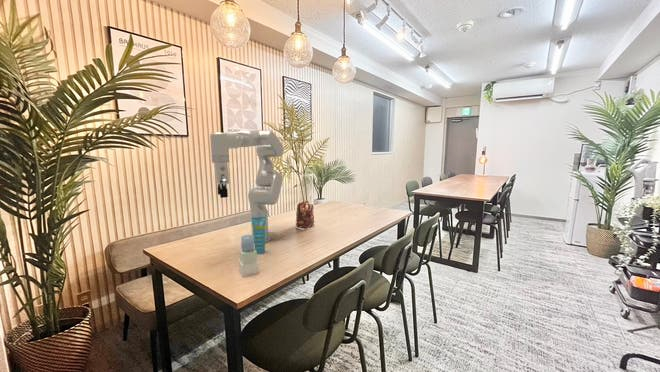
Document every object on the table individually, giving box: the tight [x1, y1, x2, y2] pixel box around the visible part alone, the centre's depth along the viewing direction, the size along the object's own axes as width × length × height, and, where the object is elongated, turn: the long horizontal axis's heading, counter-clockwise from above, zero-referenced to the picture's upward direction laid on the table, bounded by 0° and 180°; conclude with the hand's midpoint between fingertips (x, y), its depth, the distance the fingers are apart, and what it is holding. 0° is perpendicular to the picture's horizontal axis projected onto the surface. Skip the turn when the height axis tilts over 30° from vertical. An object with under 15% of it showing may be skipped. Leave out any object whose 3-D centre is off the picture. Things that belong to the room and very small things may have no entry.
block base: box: [238, 259, 260, 277], centre depth 120 cm, size 7×7×5 cm
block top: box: [238, 248, 258, 265], centre depth 120 cm, size 6×6×5 cm
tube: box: [250, 216, 266, 255], centre depth 142 cm, size 7×5×19 cm, turn 103°
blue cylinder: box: [240, 234, 255, 252], centre depth 119 cm, size 5×5×6 cm
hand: (222, 195), depth 128 cm, fingers open, 9 cm apart
